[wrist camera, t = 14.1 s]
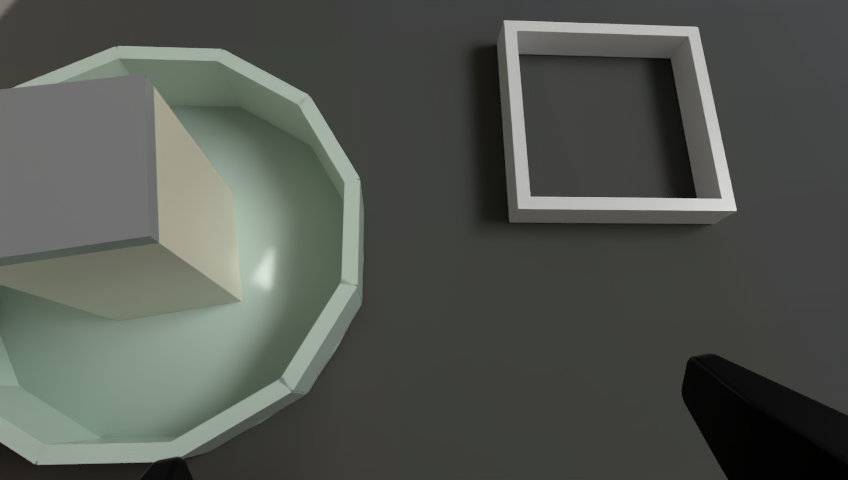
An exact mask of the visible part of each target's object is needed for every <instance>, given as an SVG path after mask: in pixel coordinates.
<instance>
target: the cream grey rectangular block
mask: <svg viewBox="0 0 848 480" xmlns="http://www.w3.org/2000/svg"><path fill="white" fill-rule="evenodd" d="M0 285H3V286H7V287H10V288H13V289H16V290H20V291H23V292H26V293H29V294H32V295H36V296H39V297H42V298H45V299H49V300H52V301H55V302H58V303H61V304H65V305H68V306H71V307H74V308H78V309H81V310H84V311H87V312H91V313H94V314H97V315H100V316H103V317H107V318H110V319H113V320H116V321H123V320H129V319H135V318H142V317H148V316H154V315H160V314H166V313H172V312H179V311H185V310H191V309H197V308H203V307H210V306H216V305H222V304H228V303H234V302H240V301H242V298H241V285H240V273H239V260H238V248H237V236H236V223H235V211H234V199H233V193H232V192H231V190H230V189H229V188H228V186H227V185H226V184H225V182H224V181H223V179H222V178H221V177H220V175H219V174H218V173H217V171H216V170H215V169H214V167H213V166H212V165H211V163H210V162H209V160H208V159H207V158H206V156H205V155H204V154H203V152H202V151H201V150H200V148H199V147H198V145H197V144H196V143H195V141H194V140H193V139H192V137H191V136H190V135H189V133H188V132H187V131H186V129H185V128H184V126H183V125H182V124H181V122H180V121H179V120H178V118H177V117H176V116H175V114H174V113H173V111H172V110H171V109H170V107H169V106H168V105H167V103H166V102H165V101H164V99H163V98H162V97H161V95H160V94H159V92H158V91H157V90H156V88H155V87H154V86H153V84H152V83H151V82H150V80H149V79H148V77H147V76H146V75H145V74H137V75H128V76H119V77H110V78H101V79H92V80H82V81H73V82H64V83H55V84H46V85H37V86H28V87H19V88H10V89H0Z"/></svg>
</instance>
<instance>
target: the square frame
mask: <svg viewBox="0 0 848 480" xmlns="http://www.w3.org/2000/svg"><path fill="white" fill-rule="evenodd" d="M497 53H498V67H499V82H500V96H501V111H502V125H503V139H504V154H505V168H506V183H507V197H508V211H509V222H510V223H651V224H714V223H716V222H718V221H720V220H721V219H723V218H725V217H727V216H729V215H730V214H732V213H734V212H736V211H737V210H736V205H735V200H734V196H733V191H732V186H731V181H730V177H729V172H728V167H727V162H726V158H725V153H724V148H723V143H722V139H721V134H720V129H719V125H718V120H717V115H716V110H715V106H714V101H713V96H712V91H711V87H710V82H709V77H708V72H707V68H706V63H705V58H704V53H703V49H702V44H701V39H700V34H699V30H698V27H683V26H654V25H624V24H595V23H565V22H535V21H506V20H504V22H503V25H502V29H501V32H500V35H499V39H498V42H497ZM518 54H536V55H570V56H604V57H638V58H671V63H672V68H673V74H674V79H675V84H676V90H677V95H678V100H679V106H680V111H681V116H682V122H683V127H684V132H685V138H686V143H687V148H688V154H689V159H690V164H691V170H692V175H693V180H694V186H695V191H696V196H697V198H605V197H530V186H529V174H528V162H527V150H526V138H525V126H524V114H523V102H522V90H521V78H520V66H519V55H518Z"/></svg>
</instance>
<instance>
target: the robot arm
mask: <svg viewBox="0 0 848 480" xmlns="http://www.w3.org/2000/svg"><path fill="white" fill-rule="evenodd" d="M682 397H683V400H684V403H685V405H686V406H687V408H688V410H689V412H690V414H691V415H692V417H693V419H694V421H695V422H696V424H697V426H698V428H699V430H700V431H701V433H702V435H703V437H704V438H705V440H706V442H707V444H708V446H709V447H710V449H711V451H712V453H713V454H714V456H715V458H716V460H717V462H718V463H719V465H720V467H721V469H722V470H723V472H724V474H725V475H726V477H727V479H728V480H848V415H846V414H843V413H841V412H839V411H837V410H835V409H833V408H830V407H828V406H826V405H824V404H822V403H820V402H817V401H815V400H813V399H811V398H809V397H807V396H804V395H802V394H800V393H798V392H796V391H793V390H791V389H789V388H787V387H785V386H783V385H780V384H778V383H776V382H774V381H772V380H770V379H767V378H765V377H763V376H761V375H759V374H757V373H754V372H752V371H750V370H748V369H746V368H744V367H741V366H739V365H737V364H735V363H733V362H731V361H728V360H726V359H724V358H722V357H720V356H718V355H715V354H703V355H698V356H693V357H691V358H690V359H689V360H688V361H687V365H686V370H685V375H684V380H683V385H682ZM138 480H193V478H192V476H191V473H190V471H189V469H188V466H187V464H186V462H185V460H184V459H183V458H182V457H178V456H176V457H171V458H166V459H161V460H157V461H155V462H154V463H153V464H151V465H150V467H149V468H148V469H147V470H146V471H145V472H144V474H143V475H142V476H141V477H140V478H139V479H138Z"/></svg>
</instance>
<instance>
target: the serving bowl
mask: <svg viewBox="0 0 848 480" xmlns="http://www.w3.org/2000/svg"><path fill="white" fill-rule="evenodd" d="M137 74H145V75H146V76H147V77H148V79H149V80H150V82H151V83H152V84H153V86H154V87H155V88H156V90H157V91H158V92H159V94H160V95H161V97H162V98H163V99H164V101H165V102H166V103H167V105H168V106H169V107H170V109H171V110H172V111H173V113H174V114H175V116H176V117H177V118H178V120H179V121H180V122H181V124H182V125H183V126H184V128H185V129H186V131H187V132H188V133H189V135H190V136H191V137H192V139H193V140H194V141H195V143H196V144H197V145H198V147H199V148H200V150H201V151H202V152H203V154H204V155H205V156H206V158H207V159H208V160H209V162H210V163H211V165H212V166H213V167H214V169H215V170H216V171H217V173H218V174H219V175H220V177H221V178H222V179H223V181H224V182H225V184H226V185H227V186H228V188H229V189H230V190H231V192H232V193H233V199H234V211H235V223H236V236H237V248H238V260H239V273H240V285H241V298H242V301H240V302H234V303H228V304H222V305H216V306H210V307H203V308H197V309H191V310H185V311H179V312H172V313H166V314H160V315H154V316H148V317H142V318H135V319H129V320H123V321H116V320H113V319H110V318H107V317H103V316H100V315H97V314H94V313H91V312H87V311H84V310H81V309H78V308H74V307H71V306H68V305H65V304H61V303H58V302H55V301H52V300H49V299H45V298H42V297H39V296H36V295H32V294H29V293H26V292H23V291H20V290H16V289H13V288H10V287H7V286H3V285H0V442H1V443H2V444H4V445H6V446H7V447H9V448H10V449H12V450H13V451H15V452H16V453H18V454H19V455H21V456H23V457H24V458H26V459H27V460H29V461H30V462H32V463H33V464H37V465H55V464H97V463H140V462H155V461H157V460H161V459H166V458H171V457H176V456H178V457H182V458H183V459H184V458H188V457H192V456H195V455H199V454H203V453H207V452H210V451H211V450H213V449H215V448H217V447H218V446H220V445H222V444H223V443H225V442H227V441H228V440H230V439H232V438H233V437H235V436H237V435H238V434H241V433H243V432H245V431H246V430H248V429H250V428H252V427H254V426H256V425H258V424H260V423H262V422H264V421H265V420H267V419H268V418H270V417H271V416H273V415H274V414H276V413H277V412H279V411H280V410H282V409H283V408H285V407H286V406H287V405H289V404H291V403H293V402H294V401H296V400H298V399H299V398H301V397H303V396H304V395H306V392H307V393H308V392H309V390H310V389H311V387H312V385H313V384H314V382H315V380H316V379H317V377H318V375H319V374H320V373H321V372H322V370H323V369H324V368H325V366H326V365H327V363H328V362H329V361H330V359H331V358H332V356H333V355H334V353H335V352H336V350H337V349H338V347H339V345H340V343H341V341H342V339H343V337H344V335H345V334H346V332H347V330H348V328H349V325H350V323H351V321H352V319H353V318H354V316H355V314H356V313H357V311H358V309H359V308H360V306H361V302H362V285H363V265H364V253H363V235H364V208H363V200H362V192H361V184H360V178H359V176H358V175H357V173H356V171H355V170H354V168H353V166H352V165H351V163H350V161H349V160H348V158H347V156H346V155H345V153H344V152H343V150H342V148H341V147H340V145H339V143H338V142H337V140H336V138H335V137H334V135H333V133H332V132H331V130H330V128H329V127H328V125H327V123H326V122H325V120H324V118H323V117H322V115H321V114H320V112H319V110H318V109H317V107H316V105H315V104H314V102H313V100H312V99H311V97H309V95H308V94H306V93H304V92H302V91H300V90H298V89H296V88H295V87H293V86H291V85H289V84H287V83H285V82H283V81H281V80H280V79H278V78H276V77H274V76H272V75H270V74H268V73H267V72H265V71H263V70H261V69H259V68H257V67H255V66H253V65H252V64H250V63H248V62H246V61H244V60H242V59H240V58H238V57H237V56H235V55H233V54H231V53H229V52H227V51H225V50H223V51H222V49H205V48H170V47H136V46H118V47H117V48H116V46H115V47H113V48H110V49H108V50H105V51H103V52H100V53H98V54H95V55H93V56H90V57H88V58H85V59H83V60H80V61H78V62H75V63H73V64H70V65H68V66H65V67H63V68H61V69H58V70H56V71H53V72H51V73H48V74H46V75H43V76H41V77H38V78H36V79H33V80H31V81H28V82H26V83H23V84H21V85H18V86H16V87H13V88H19V87H28V86H37V85H46V84H55V83H64V82H73V81H82V80H92V79H101V78H110V77H119V76H128V75H137Z"/></svg>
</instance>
